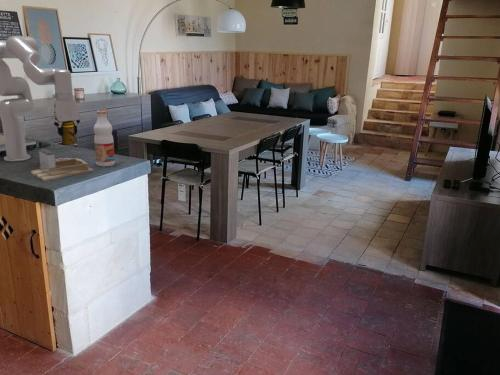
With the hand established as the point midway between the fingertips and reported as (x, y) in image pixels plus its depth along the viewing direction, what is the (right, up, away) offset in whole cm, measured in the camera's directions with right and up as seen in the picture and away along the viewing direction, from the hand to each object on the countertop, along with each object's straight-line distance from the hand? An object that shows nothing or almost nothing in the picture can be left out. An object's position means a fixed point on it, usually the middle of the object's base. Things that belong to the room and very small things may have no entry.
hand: (68, 134), depth 208 cm
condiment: (-1, -5, +1) cm, 5 cm away
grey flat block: (-8, -18, -2) cm, 20 cm away
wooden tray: (-4, -18, +3) cm, 19 cm away
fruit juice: (+12, -14, +19) cm, 26 cm away
